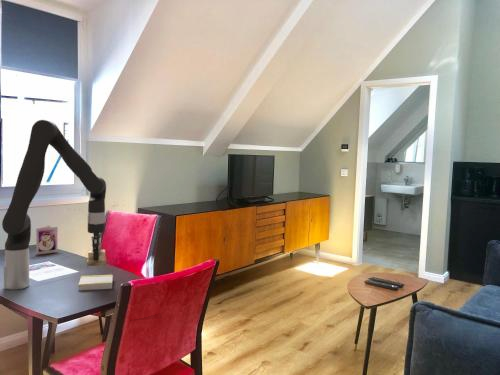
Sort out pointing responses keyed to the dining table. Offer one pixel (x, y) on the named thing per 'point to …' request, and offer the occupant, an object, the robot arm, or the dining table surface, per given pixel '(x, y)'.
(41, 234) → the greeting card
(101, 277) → the dock
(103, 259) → the pallet
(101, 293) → the dining table surface
